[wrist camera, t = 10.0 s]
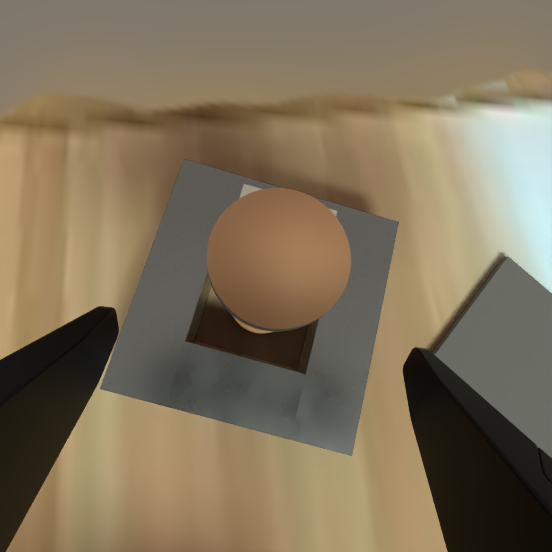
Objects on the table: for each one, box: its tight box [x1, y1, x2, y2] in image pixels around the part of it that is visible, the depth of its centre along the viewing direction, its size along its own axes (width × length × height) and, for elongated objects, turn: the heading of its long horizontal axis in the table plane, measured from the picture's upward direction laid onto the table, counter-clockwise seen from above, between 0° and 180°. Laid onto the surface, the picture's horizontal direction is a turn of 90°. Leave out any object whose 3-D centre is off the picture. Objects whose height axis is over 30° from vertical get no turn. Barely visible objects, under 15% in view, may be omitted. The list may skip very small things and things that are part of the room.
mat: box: [432, 257, 552, 458], centre depth 22 cm, size 12×12×1 cm
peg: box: [207, 188, 351, 334], centre depth 15 cm, size 4×4×13 cm
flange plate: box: [100, 159, 399, 456], centre depth 20 cm, size 14×14×3 cm
